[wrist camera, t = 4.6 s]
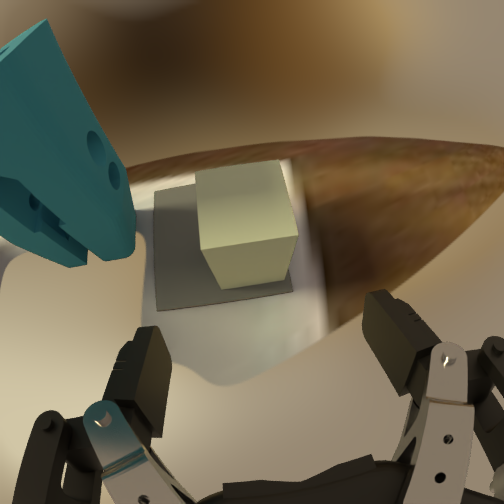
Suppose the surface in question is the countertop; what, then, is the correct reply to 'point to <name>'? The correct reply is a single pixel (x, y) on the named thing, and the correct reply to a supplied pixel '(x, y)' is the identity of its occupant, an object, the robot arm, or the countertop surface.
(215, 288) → the marker mat
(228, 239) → the sage block
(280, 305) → the countertop surface
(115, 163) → the block
